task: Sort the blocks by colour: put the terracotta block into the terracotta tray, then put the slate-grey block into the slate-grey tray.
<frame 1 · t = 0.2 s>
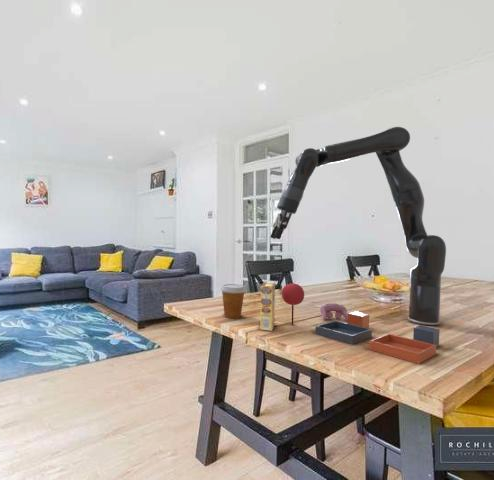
hand: (274, 238, 128), 31 cm above the table, tool tilted 20°, fingers open, 8 cm apart
slate tray: (343, 335, 108), on the table
terracotta tray: (402, 351, 94), on the table
slate block: (425, 344, 100), on the table
toy elephant: (334, 319, 128), on the table
lollipop: (292, 325, 119), on the table
terracotta block: (358, 327, 116), on the table
disposable coffee cup: (232, 316, 129), on the table
candy box: (267, 327, 116), on the table
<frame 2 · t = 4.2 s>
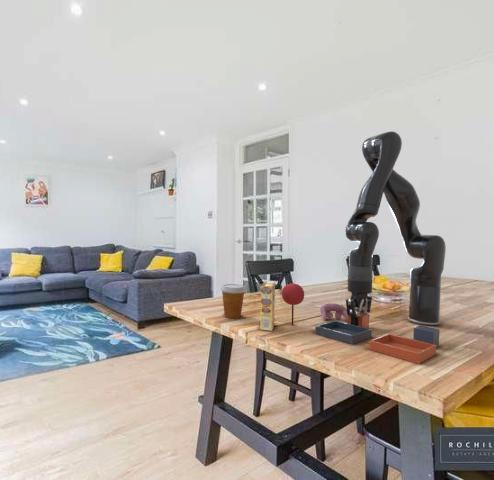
hand: (358, 326, 116), 1 cm above the table, tool pointing down, fingers closed on terracotta block, 5 cm apart
terracotta block: (358, 327, 116), on the table, touching gripper
everything else where it was.
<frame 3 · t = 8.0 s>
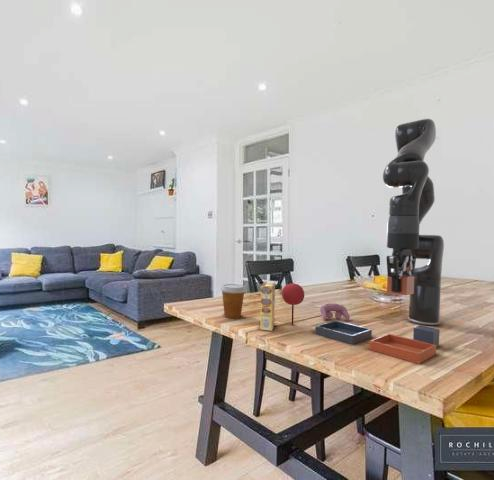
hand: (400, 290, 95), 17 cm above the table, tool pointing down, fingers closed on terracotta block, 5 cm apart
terracotta block: (400, 292, 95), point 17 cm above the table, touching gripper
everything else where it was.
when the fingers open (1 cm above the table, at t = 12.0 s): terracotta block stays where it is, resting on terracotta tray.
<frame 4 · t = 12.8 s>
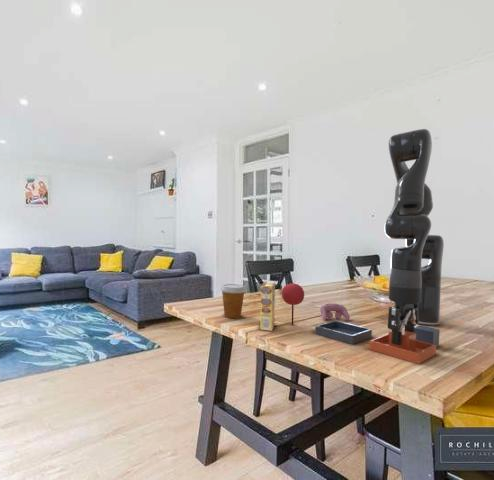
hand: (402, 341, 94), 3 cm above the table, tool pointing down, fingers open, 8 cm apart
terracotta block: (401, 349, 94), point 1 cm above the table, touching terracotta tray
everything else where it was.
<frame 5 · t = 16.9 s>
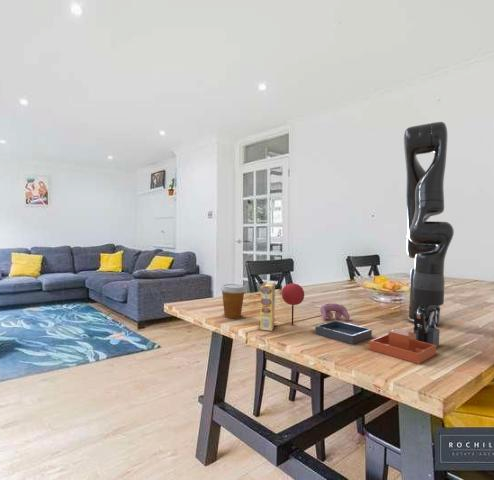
hand: (425, 342, 100), 1 cm above the table, tool pointing down, fingers closed on slate block, 5 cm apart
slate block: (425, 344, 100), on the table, touching gripper
everything else where it was.
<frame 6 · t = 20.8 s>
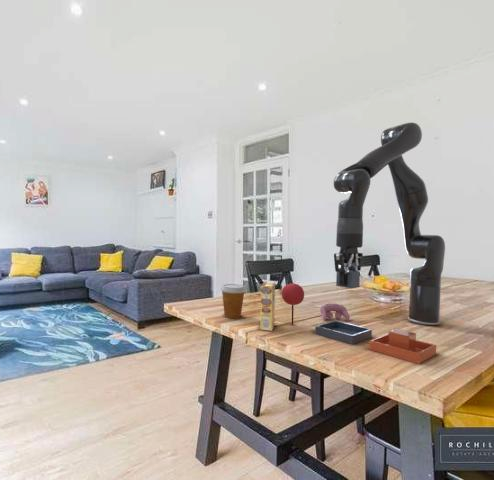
hand: (347, 284, 107), 17 cm above the table, tool pointing down, fingers closed on slate block, 5 cm apart
slate block: (347, 286, 107), point 16 cm above the table, touching gripper
everything else where it was.
when the fingers open (1 cm above the table, at t = 24.7 s): slate block stays where it is, resting on slate tray.
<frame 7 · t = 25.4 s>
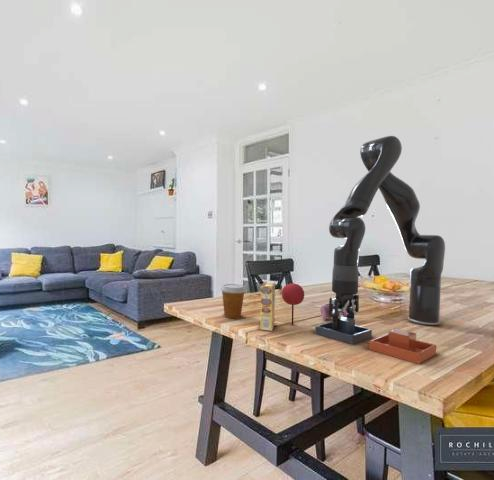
hand: (343, 327, 108), 3 cm above the table, tool pointing down, fingers open, 8 cm apart
slate block: (343, 333, 108), point 1 cm above the table, touching slate tray
everything else where it was.
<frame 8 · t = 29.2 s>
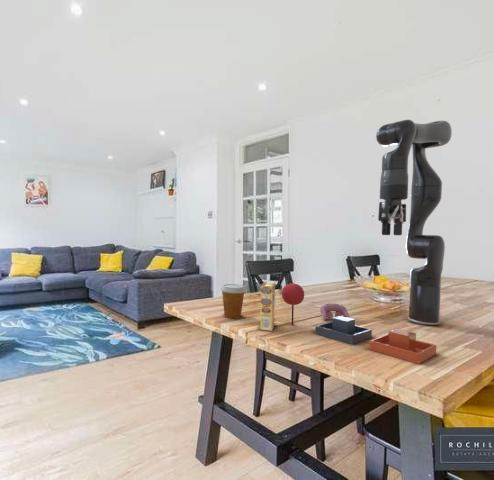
hand: (391, 235, 106), 33 cm above the table, tool pointing down, fingers open, 8 cm apart
nothing on the table moved.
at the end: terracotta block inside the target area in the terracotta tray (0.1 cm from its centre), point 0.6 cm above the terracotta tray's base; slate block inside the target area in the slate tray (0.1 cm from its centre), point 0.6 cm above the slate tray's base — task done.
